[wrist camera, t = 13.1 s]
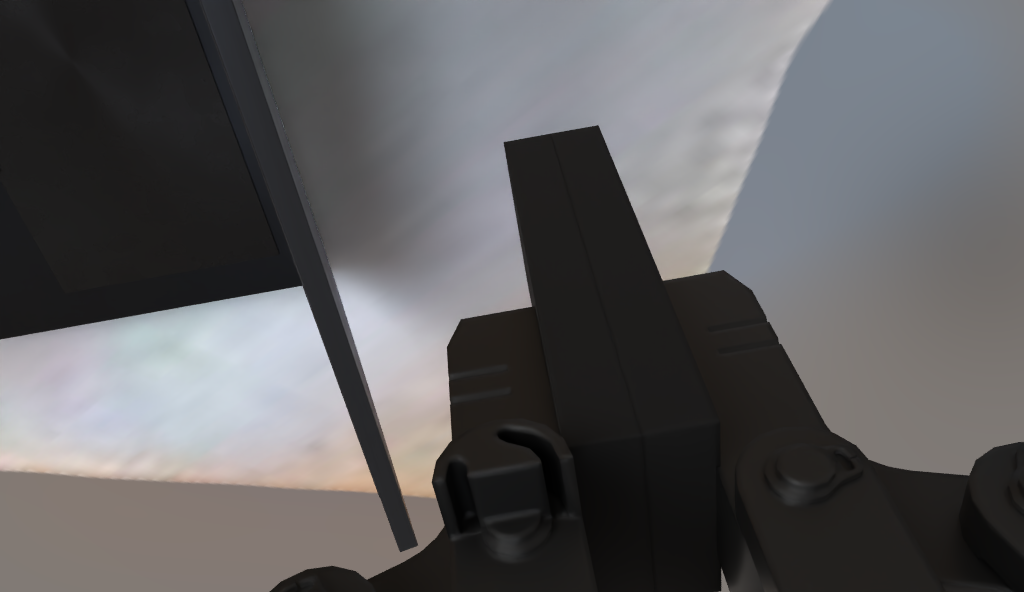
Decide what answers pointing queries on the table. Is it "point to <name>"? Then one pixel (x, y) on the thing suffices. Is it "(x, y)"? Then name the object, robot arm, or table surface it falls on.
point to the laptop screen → (304, 244)
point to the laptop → (124, 168)
